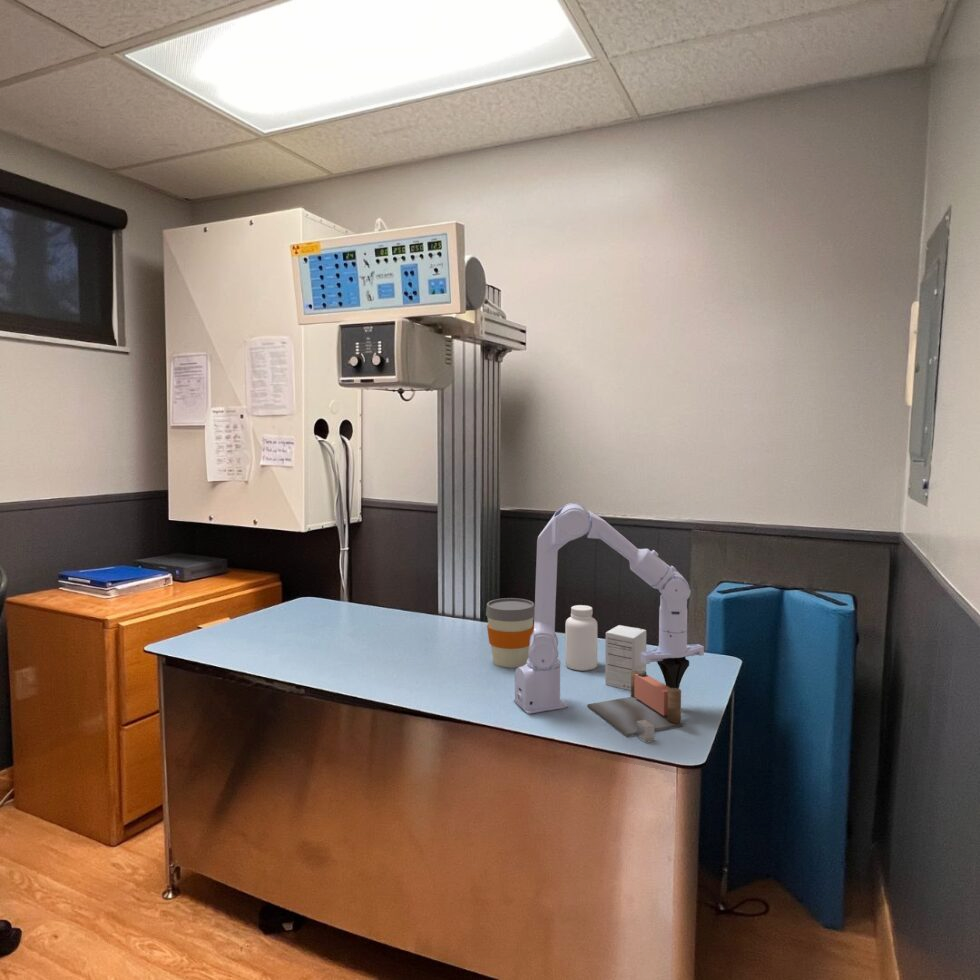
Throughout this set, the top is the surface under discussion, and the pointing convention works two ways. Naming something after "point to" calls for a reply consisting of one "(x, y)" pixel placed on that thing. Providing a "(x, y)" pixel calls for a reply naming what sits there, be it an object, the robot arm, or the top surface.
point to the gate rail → (651, 692)
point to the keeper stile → (645, 731)
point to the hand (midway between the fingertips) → (672, 691)
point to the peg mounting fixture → (639, 712)
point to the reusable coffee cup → (510, 630)
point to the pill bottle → (581, 639)
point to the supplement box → (623, 655)
